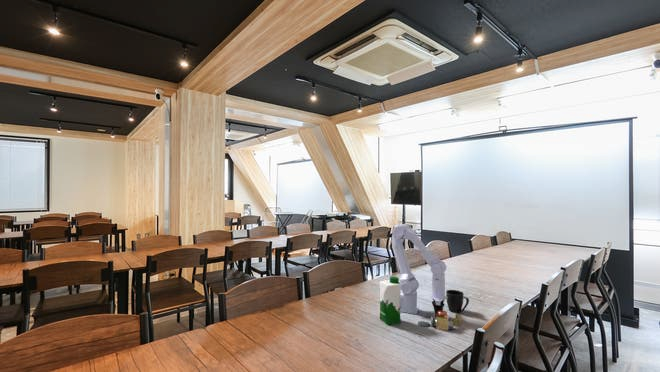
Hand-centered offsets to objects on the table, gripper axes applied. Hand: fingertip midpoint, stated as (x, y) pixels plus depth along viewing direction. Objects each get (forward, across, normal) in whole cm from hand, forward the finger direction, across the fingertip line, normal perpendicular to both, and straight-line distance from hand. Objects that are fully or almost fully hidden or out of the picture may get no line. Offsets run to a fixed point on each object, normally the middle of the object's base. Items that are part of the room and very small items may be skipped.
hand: (438, 315), depth 143 cm
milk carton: (+2, -13, +21) cm, 25 cm away
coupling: (+1, 0, 0) cm, 1 cm away
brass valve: (+1, -10, -2) cm, 10 cm away
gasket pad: (+1, -10, +6) cm, 12 cm away
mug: (+2, +12, -9) cm, 15 cm away
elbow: (+2, -3, -8) cm, 9 cm away
